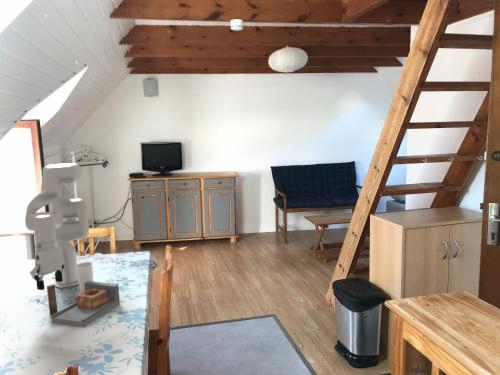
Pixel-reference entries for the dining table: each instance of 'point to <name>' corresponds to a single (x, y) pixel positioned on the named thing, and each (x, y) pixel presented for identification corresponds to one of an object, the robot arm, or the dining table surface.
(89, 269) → the drinking glass
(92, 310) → the grey open tray
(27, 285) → the dining table surface
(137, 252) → the dining table surface
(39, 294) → the dining table surface
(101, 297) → the block
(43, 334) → the dining table surface
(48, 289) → the dowel
